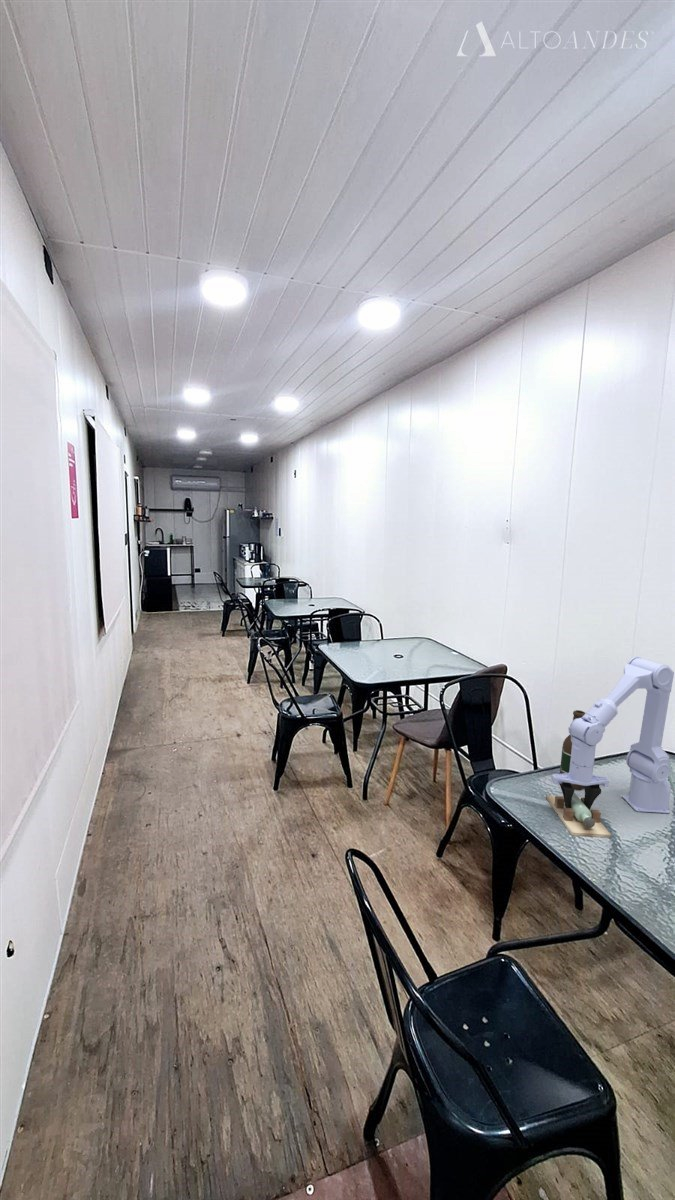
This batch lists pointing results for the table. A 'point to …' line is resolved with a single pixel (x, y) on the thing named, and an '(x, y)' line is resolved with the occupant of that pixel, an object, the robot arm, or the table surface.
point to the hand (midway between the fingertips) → (577, 808)
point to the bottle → (581, 811)
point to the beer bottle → (569, 752)
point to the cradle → (573, 823)
